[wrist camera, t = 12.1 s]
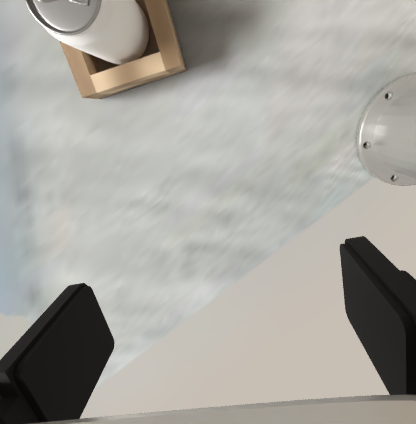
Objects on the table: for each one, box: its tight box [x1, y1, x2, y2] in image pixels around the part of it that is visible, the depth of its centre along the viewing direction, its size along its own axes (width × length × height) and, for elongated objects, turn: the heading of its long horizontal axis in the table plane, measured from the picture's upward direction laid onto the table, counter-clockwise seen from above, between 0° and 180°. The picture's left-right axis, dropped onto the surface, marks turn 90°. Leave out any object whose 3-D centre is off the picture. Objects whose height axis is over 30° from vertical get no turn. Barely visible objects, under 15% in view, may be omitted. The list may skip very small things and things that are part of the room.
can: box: [25, 0, 149, 65], centre depth 25 cm, size 6×6×12 cm
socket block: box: [60, 0, 187, 99], centre depth 29 cm, size 11×11×4 cm
